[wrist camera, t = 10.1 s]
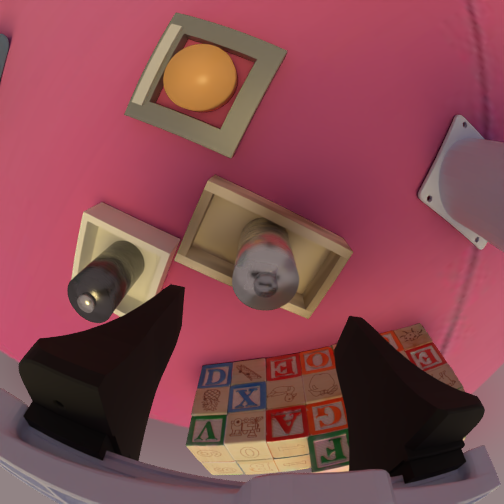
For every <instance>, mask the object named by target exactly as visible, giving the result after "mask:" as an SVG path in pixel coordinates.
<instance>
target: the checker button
mask: <svg viewBox="0 0 504 504" xmlns="http://www.w3.org/2000/svg"><path fill="white" fill-rule="evenodd" d="M237 83H238V77H237V72H236V69H235V67H234V64H233V62H232V60H231V58H230V57H229V55H228V54H227V53H226V52H225V51H223V50H222V49H220V48H218V47H216V46H213V45H209V44H196V45H192V46H189V47H186V48H184V49H182V50H181V51H179V52H178V53H177V54H175V55H174V56H173V57H172V59H171V60H170V61H169V63H168V64H167V66H166V69H165V72H164V77H163V84H164V89H165V91H166V94H167V95H168V97H169V98H170V99H171V100H172V101H173V102H174V103H175V104H177V105H178V106H180V107H182V108H185V109H188V110H192V111H195V112H210V111H213V110H216V109H218V108H220V107H222V106H223V105H225V104H226V103H227V102H228V101H229V100H230V99H231V98H232V96H233V95H234V93H235V91H236V88H237Z"/></svg>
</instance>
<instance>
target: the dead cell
mask: <svg viewBox="0 0 504 504" xmlns="http://www.w3.org/2000/svg"><path fill="white" fill-rule="evenodd" d="M144 266H145V263H144V258H143V255H142V253H141V252H140V250H139V249H138V248H137V247H136V246H135V245H134V244H132V243H130V242H128V241H116V242H114V243H113V244H111V245H110V246H109V247H108V248H107V249H106V250H104V251H103V252H102V253H101V254H100V255H99V256H97V257H96V258H95V259H94V260H93V261H92V262H91V263H89V264H88V265H87V266H86V267H85V268H84V269H83V270H82V271H80V272H79V273H78V274H77V275H76V276H75V277H74V278H73V279H72V280H71V281H70V282H69V285H68V297H69V300H70V303H71V305H72V306H73V308H74V309H75V310H76V312H77V313H78V314H79V315H81V316H82V317H83V318H85V319H86V320H88V321H91V322H94V323H102V322H105V321H106V320H108V319H109V317H110V316H111V315H112V313H113V312H114V310H115V309H116V308H117V306H118V305H119V304H120V302H121V301H122V300H123V298H124V297H125V295H126V294H127V293H128V291H129V290H130V289H131V287H132V286H133V285H134V284H135V282H136V281H137V280H138V278H139V277H140V276H141V274H142V273H143V271H144Z"/></svg>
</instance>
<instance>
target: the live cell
mask: <svg viewBox="0 0 504 504" xmlns="http://www.w3.org/2000/svg"><path fill="white" fill-rule="evenodd" d="M232 286H233V290H234V292H235V294H236V296H237V297H238V298H239V300H240V301H241V302H243V303H244V304H245V305H247V306H249V307H251V308H254V309H258V310H273V309H277V308H280V307H282V306H284V305H285V304H287V303H288V302H289V301H290V300H291V299H292V298H293V297H294V296H295V294H296V292H297V290H298V286H299V274H298V271H297V267H296V263H295V259H294V255H293V251H292V247H291V243H290V240H289V236H288V232H287V230H286V229H285V227H283V226H280V225H278V224H276V223H274V222H272V221H270V220H268V219H266V218H264V217H261V218H256V219H254V220H252V221H250V222H249V223H248V224H246V226H245V227H244V228H243V230H242V232H241V235H240V240H239V245H238V250H237V255H236V261H235V266H234V271H233V276H232Z"/></svg>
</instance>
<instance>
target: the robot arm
mask: <svg viewBox="0 0 504 504" xmlns="http://www.w3.org/2000/svg"><path fill="white" fill-rule="evenodd" d="M463 123H464V127H463ZM428 196H430V199H429V200H428V201H427V197H428ZM418 198H419V199H420V200H421V201H422V202H423V203H425V204H426V205H427V206H429V207H430V208H431V209H433V210H434V211H435V212H436V213H438V214H439V215H440V216H441V217H443V218H444V219H445V220H446V221H447V222H449V223H450V224H451V225H452V226H453V227H455V228H456V229H457V230H458V231H459V232H460V233H462V234H463V235H464V236H465V237H466V238H467V239H468V240H470V241H471V242H472V243H473V244H474V245H475V246H476V247H477V248H479V249H480V250H481V249H483V248H484V247H485V245H486V243H487V242H489V243H490V244H492V245H493V246H495V247H496V248H498V249H499V250H501V251H502V252H504V142H498V141H492V140H485V139H484V138H483V137H482V136H481V135H480V133H479V132H478V131H477V130H476V129H475V128H474V127H473V126H472V125H471V124H470V123H469V122H468V121H467V120H466V119H465V118H464V117H463V116H462V115H456V116H455V117H454V119H453V122H452V124H451V126H450V129H449V131H448V133H447V135H446V137H445V140H444V142H443V144H442V146H441V148H440V150H439V152H438V154H437V157H436V159H435V161H434V163H433V165H432V167H431V169H430V171H429V173H428V175H427V176H426V178H425V180H424V182H423V184H422V186H421V188H420V190H419V192H418ZM476 237H477V238H476ZM475 239H476V240H475ZM184 291H185V287H181V286H176V285H172V284H171V285H169V286H168V287H166V288H165V289H163V290H162V291H161V292H159V293H158V294H157V295H155V296H154V297H152V298H151V299H149V300H148V301H146V302H145V303H143V304H142V305H140V306H139V307H137V308H135V309H134V310H132V311H130V312H129V313H127V314H125V315H123V316H121V317H119V318H117V319H115V320H113V321H110V322H108V323H106V324H103V325H100V326H97V327H94V328H91V329H89V330H85V331H82V332H78V333H73V334H69V335H64V336H57V337H49V338H40V339H39V340H38V341H37V342H36V343H35V344H34V345H33V346H32V348H31V349H30V350H29V351H28V352H27V354H26V355H25V356H24V357H23V359H22V360H21V361H20V363H19V373H20V376H21V378H22V381H23V383H24V385H25V387H26V389H27V390H28V393H29V395H30V396H31V399H32V400H33V402H32V403H31V405H30V406H29V407H28V406H27V405H26V404H25V403H24V402H23V401H21V400H20V399H18V398H17V397H15V396H13V395H12V394H10V393H9V392H7V391H5V390H4V389H1V388H0V466H1V467H2V468H3V469H5V470H6V471H8V472H9V473H10V474H12V475H13V476H15V477H16V478H18V479H19V480H21V481H22V482H24V483H25V484H27V485H28V486H30V487H31V488H33V489H35V490H37V491H38V492H40V493H41V494H43V495H44V496H46V497H48V498H50V499H51V500H53V501H55V502H57V503H59V504H475V503H476V502H478V501H479V500H481V499H483V498H484V497H485V496H487V495H488V494H490V493H491V492H492V491H494V490H495V489H496V488H498V487H499V486H500V485H501V483H500V481H499V478H498V476H497V473H496V471H495V468H494V466H493V464H492V461H491V459H490V457H489V455H488V452H487V450H486V448H485V446H484V445H482V446H480V447H477V448H474V449H471V450H468V451H467V452H465V453H463V452H462V450H461V448H463V447H464V445H465V444H464V441H463V438H464V437H465V436H466V435H467V434H468V433H469V432H470V431H471V430H472V429H473V428H474V427H475V426H476V425H477V424H478V423H479V421H480V420H481V419H482V417H483V415H484V411H485V410H484V407H483V405H482V403H481V401H480V400H479V398H478V397H477V396H474V395H472V394H469V393H466V392H463V391H461V390H458V389H456V388H454V387H451V386H449V385H447V384H445V383H443V382H441V381H439V380H438V379H436V378H434V377H433V376H431V375H429V374H428V373H426V372H425V371H423V370H422V369H420V368H419V367H417V366H416V365H415V364H413V363H412V362H411V361H409V360H408V359H407V358H406V357H404V356H403V355H402V354H401V353H400V352H399V351H397V350H396V349H395V348H394V347H393V346H392V345H391V344H390V343H389V342H388V341H387V340H386V339H384V338H383V337H382V336H381V335H380V334H379V333H378V332H377V331H376V330H375V329H374V328H373V327H372V326H371V325H370V324H369V323H367V322H366V321H365V320H364V319H363V318H361V317H353V316H349V318H348V320H347V322H346V325H345V327H344V329H343V332H342V334H341V336H340V338H339V340H338V343H337V345H336V347H335V349H334V357H335V367H336V372H337V377H338V381H339V385H340V389H341V393H342V397H343V401H344V405H345V409H346V415H347V423H348V435H349V471H345V472H326V473H272V474H267V475H262V476H258V477H254V478H252V479H251V480H249V481H248V482H237V481H229V480H222V479H215V478H208V477H202V476H197V475H192V474H187V473H182V472H178V471H173V470H169V469H165V468H161V467H157V466H154V465H150V464H146V463H143V462H139V461H138V460H139V455H140V450H141V445H142V441H143V437H144V433H145V429H146V425H147V421H148V417H149V413H150V410H151V406H152V403H153V399H154V396H155V393H156V390H157V387H158V384H159V382H160V380H161V377H162V375H163V373H164V371H165V368H166V366H167V364H168V362H169V359H170V357H171V355H172V353H173V350H174V348H175V346H176V343H177V340H178V337H179V333H180V330H181V326H182V315H183V303H184Z"/></svg>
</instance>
